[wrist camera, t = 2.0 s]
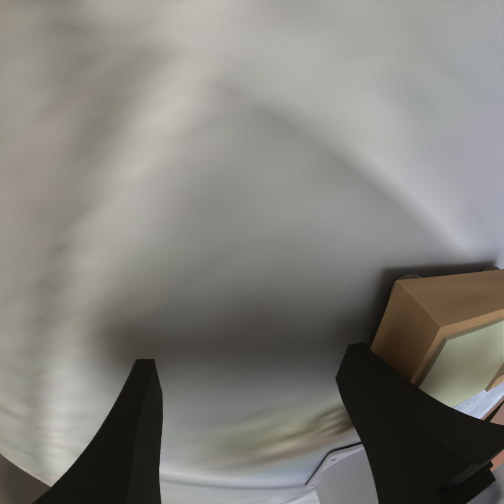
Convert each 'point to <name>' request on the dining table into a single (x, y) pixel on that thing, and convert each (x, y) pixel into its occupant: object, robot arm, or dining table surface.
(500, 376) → the bay
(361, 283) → the dining table surface
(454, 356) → the open box
